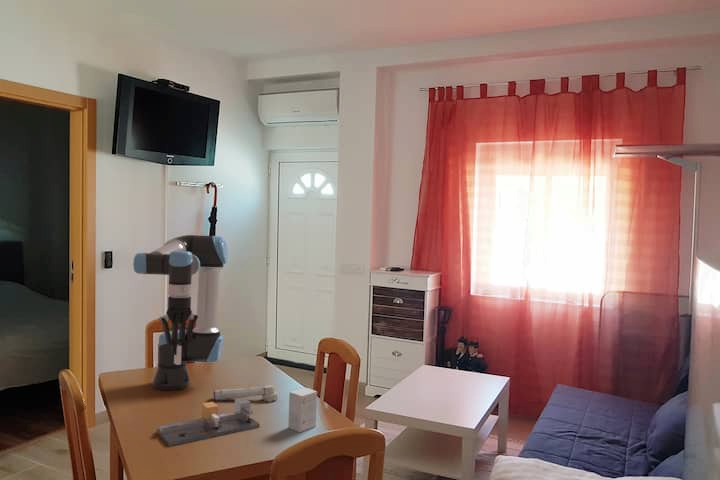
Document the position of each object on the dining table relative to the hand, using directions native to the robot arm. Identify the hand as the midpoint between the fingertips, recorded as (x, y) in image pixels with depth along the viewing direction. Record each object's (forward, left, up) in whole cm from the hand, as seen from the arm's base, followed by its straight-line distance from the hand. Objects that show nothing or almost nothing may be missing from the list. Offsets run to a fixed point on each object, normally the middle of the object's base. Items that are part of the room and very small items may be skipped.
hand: (177, 363), depth 193 cm
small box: (+22, +38, -23) cm, 49 cm away
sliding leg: (+7, +10, -21) cm, 24 cm away
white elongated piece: (-14, +33, -23) cm, 43 cm away
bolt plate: (+8, +9, -22) cm, 25 cm away
